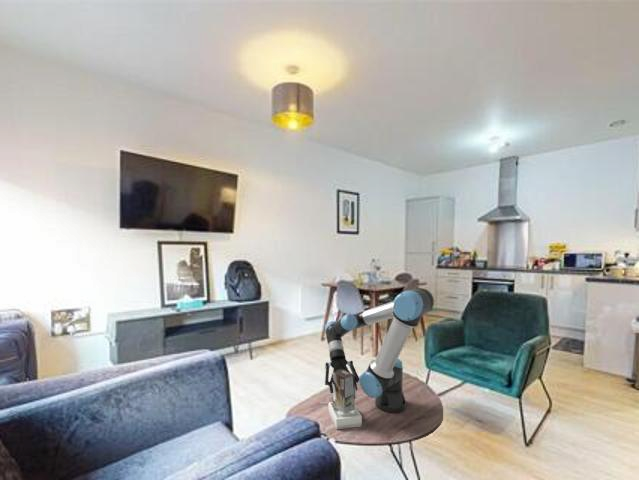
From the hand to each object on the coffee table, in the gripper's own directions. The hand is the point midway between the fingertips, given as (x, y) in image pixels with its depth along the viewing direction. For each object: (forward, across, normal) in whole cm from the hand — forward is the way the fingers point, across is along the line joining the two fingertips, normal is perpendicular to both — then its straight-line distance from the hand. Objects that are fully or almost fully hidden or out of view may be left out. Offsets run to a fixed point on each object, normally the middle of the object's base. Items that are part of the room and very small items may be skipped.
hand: (345, 399), depth 145 cm
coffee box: (+2, 0, -6) cm, 7 cm away
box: (+5, 0, -9) cm, 11 cm away
